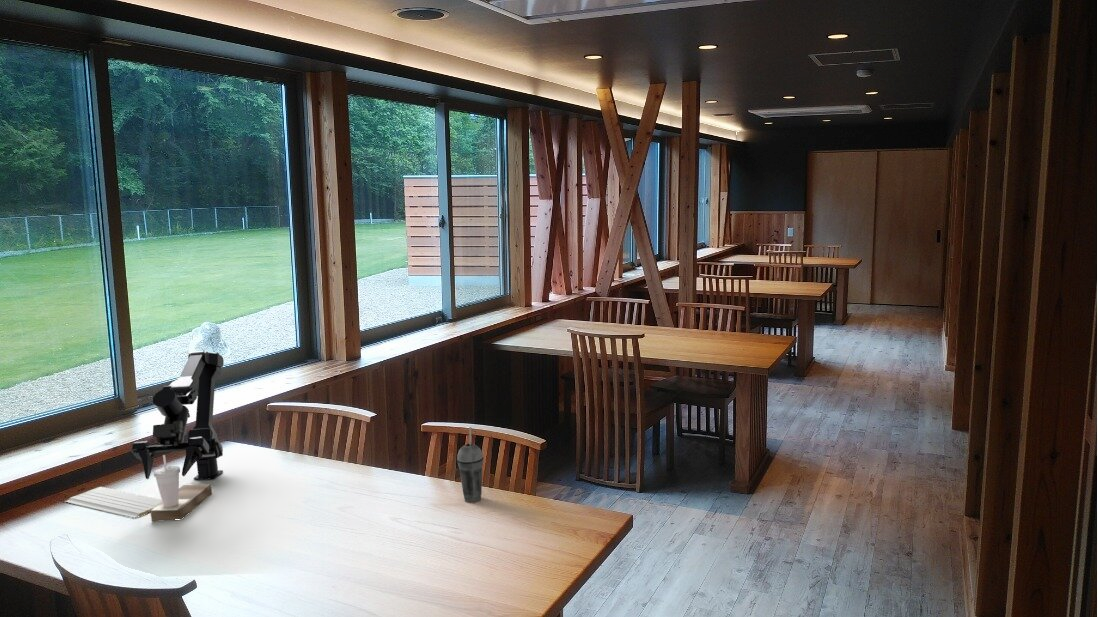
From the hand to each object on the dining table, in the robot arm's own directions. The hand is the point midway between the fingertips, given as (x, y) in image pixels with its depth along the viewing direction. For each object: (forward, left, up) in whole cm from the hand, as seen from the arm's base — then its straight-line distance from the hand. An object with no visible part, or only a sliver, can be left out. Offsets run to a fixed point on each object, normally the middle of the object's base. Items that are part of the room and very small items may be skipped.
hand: (165, 477), depth 206 cm
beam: (-7, 0, -11) cm, 14 cm away
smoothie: (-2, 0, -8) cm, 9 cm away
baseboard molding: (-11, -22, -12) cm, 28 cm away
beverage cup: (-5, +81, -12) cm, 82 cm away
